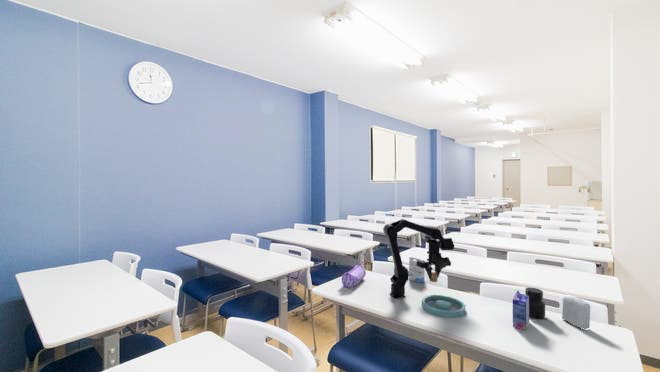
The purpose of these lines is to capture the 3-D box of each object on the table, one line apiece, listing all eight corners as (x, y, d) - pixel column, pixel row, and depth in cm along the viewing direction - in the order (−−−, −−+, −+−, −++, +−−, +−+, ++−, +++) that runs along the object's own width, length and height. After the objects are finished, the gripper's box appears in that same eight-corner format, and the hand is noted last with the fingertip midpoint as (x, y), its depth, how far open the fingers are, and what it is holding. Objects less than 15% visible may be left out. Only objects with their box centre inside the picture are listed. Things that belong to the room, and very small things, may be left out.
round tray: (439, 319, 136) (439, 314, 136) (414, 302, 155) (414, 297, 155) (474, 313, 142) (474, 308, 142) (446, 297, 161) (446, 293, 161)
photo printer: (591, 330, 127) (592, 301, 127) (583, 330, 127) (584, 302, 126) (568, 318, 138) (568, 292, 137) (560, 319, 137) (561, 292, 136)
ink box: (424, 281, 186) (425, 258, 185) (420, 283, 183) (420, 259, 182) (413, 278, 192) (413, 255, 192) (408, 279, 189) (408, 256, 189)
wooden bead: (432, 282, 163) (432, 274, 163) (428, 279, 166) (428, 272, 166) (438, 281, 164) (439, 273, 164) (434, 279, 168) (434, 271, 168)
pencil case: (352, 276, 195) (353, 262, 194) (366, 278, 191) (366, 264, 191) (340, 288, 174) (340, 272, 174) (355, 290, 171) (355, 274, 170)
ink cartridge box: (514, 318, 138) (515, 287, 137) (529, 322, 134) (530, 290, 134) (511, 326, 130) (512, 293, 129) (526, 330, 126) (527, 297, 126)
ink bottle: (544, 313, 143) (545, 288, 142) (547, 321, 135) (548, 295, 134) (520, 309, 147) (521, 285, 147) (522, 316, 139) (522, 291, 139)
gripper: (428, 255, 154) (428, 285, 155) (458, 252, 160) (457, 281, 160) (416, 250, 165) (415, 278, 165) (444, 248, 170) (443, 275, 171)
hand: (433, 278), depth 165 cm, fingers closed on wooden bead, 4 cm apart
